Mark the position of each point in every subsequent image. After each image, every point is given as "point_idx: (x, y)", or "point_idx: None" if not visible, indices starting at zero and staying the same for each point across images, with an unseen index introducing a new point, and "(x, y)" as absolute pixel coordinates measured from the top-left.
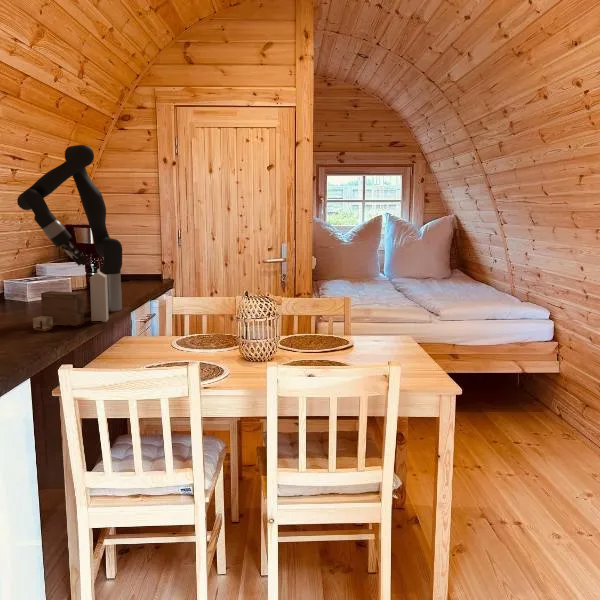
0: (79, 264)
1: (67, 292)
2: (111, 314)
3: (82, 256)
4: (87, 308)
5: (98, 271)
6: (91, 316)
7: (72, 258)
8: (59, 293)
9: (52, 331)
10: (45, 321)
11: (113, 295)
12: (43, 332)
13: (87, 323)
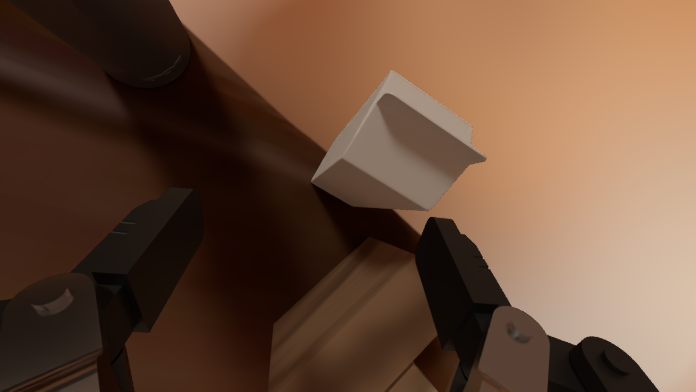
0: (197, 231)
1: (369, 324)
2: (245, 90)
3: (489, 290)
4: (24, 108)
5: (436, 135)
6: (357, 206)
7: (125, 347)
8: (383, 368)
9: (426, 349)
10: (433, 386)
11: (162, 9)
12: (426, 375)
13: (365, 224)
